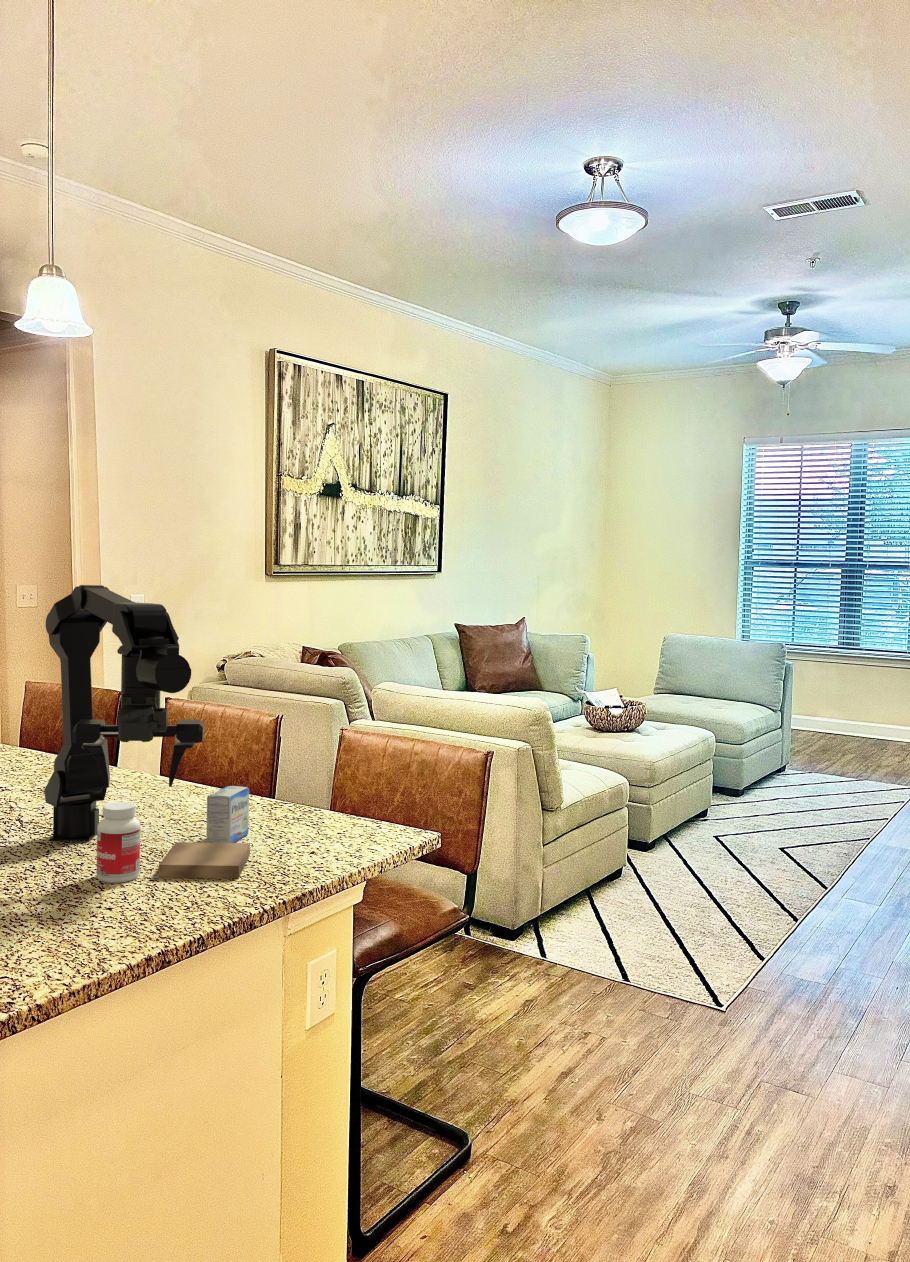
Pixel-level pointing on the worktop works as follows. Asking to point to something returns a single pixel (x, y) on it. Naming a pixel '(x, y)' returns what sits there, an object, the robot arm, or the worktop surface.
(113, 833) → the pill bottle
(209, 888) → the worktop surface
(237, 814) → the medicine box
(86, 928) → the worktop surface
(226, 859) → the walnut plinth
